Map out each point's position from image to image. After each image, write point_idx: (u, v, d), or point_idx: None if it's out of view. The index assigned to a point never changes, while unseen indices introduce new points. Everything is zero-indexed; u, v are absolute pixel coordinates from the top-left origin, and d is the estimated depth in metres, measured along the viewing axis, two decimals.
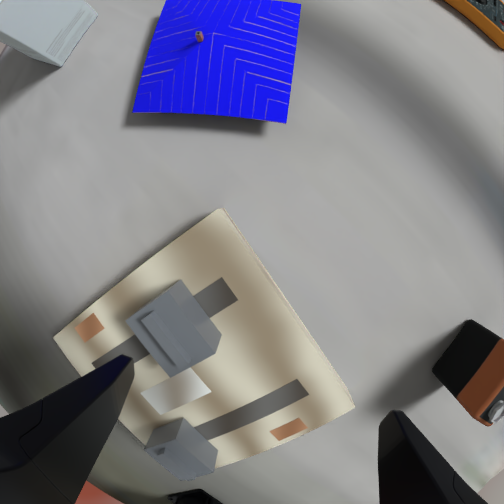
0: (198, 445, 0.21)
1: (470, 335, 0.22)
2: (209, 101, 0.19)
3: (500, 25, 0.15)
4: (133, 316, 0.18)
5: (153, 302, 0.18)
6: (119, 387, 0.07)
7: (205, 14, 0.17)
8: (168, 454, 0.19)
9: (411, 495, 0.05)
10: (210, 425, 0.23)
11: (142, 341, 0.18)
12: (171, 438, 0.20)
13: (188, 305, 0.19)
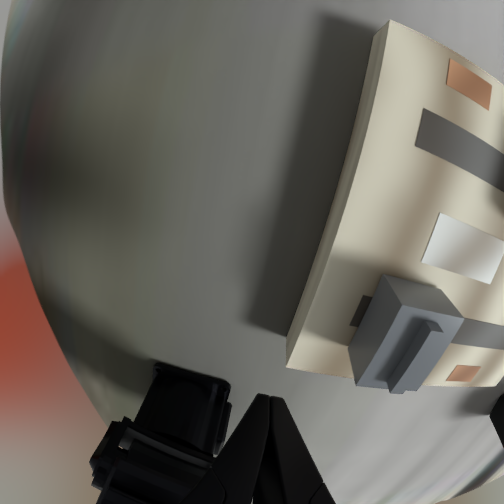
0: None
1: None
2: None
3: None
4: None
5: None
6: None
7: None
8: None
9: (268, 498, 0.05)
10: None
11: None
12: (454, 313, 0.11)
13: None
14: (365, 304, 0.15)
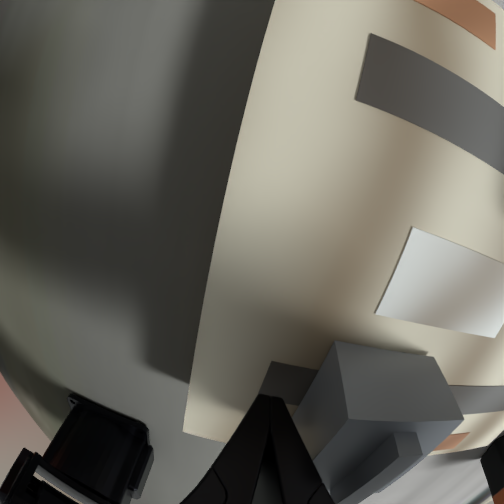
0: None
1: None
2: None
3: None
4: None
5: None
6: None
7: None
8: None
9: (267, 498, 0.05)
10: None
11: None
12: (448, 413, 0.06)
13: None
14: (277, 374, 0.09)
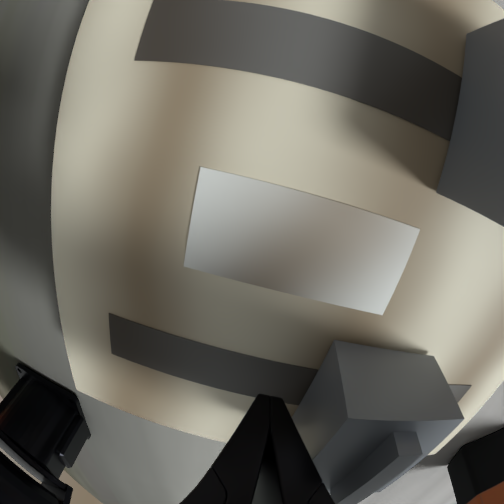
0: None
1: None
2: None
3: None
4: None
5: None
6: None
7: None
8: None
9: (267, 498, 0.05)
10: (274, 372, 0.09)
11: None
12: (448, 412, 0.06)
13: None
14: (118, 328, 0.09)
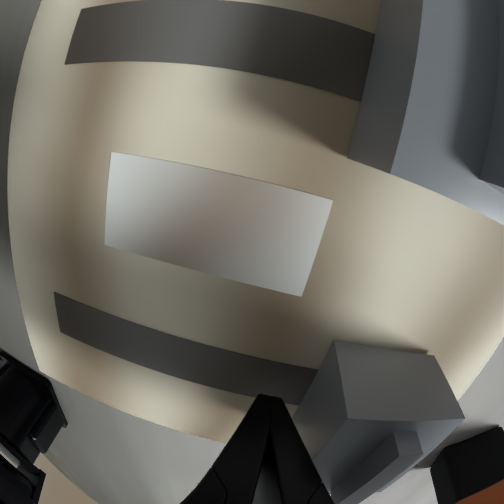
0: None
1: (498, 444, 0.13)
2: None
3: None
4: None
5: None
6: None
7: None
8: None
9: (267, 498, 0.05)
10: (198, 353, 0.09)
11: None
12: (449, 411, 0.06)
13: None
14: (62, 306, 0.09)
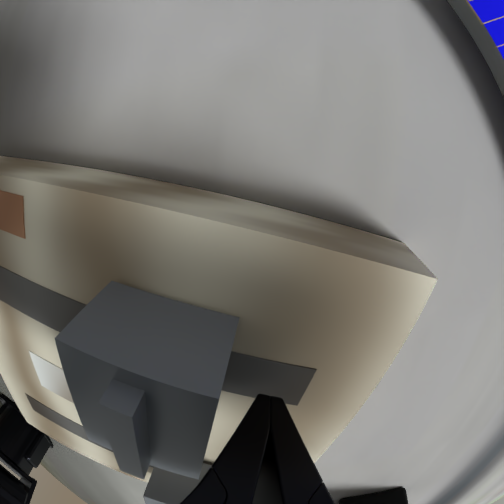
0: None
1: None
2: None
3: None
4: (80, 352, 0.05)
5: (157, 383, 0.05)
6: None
7: None
8: None
9: (267, 498, 0.05)
10: None
11: (71, 388, 0.06)
12: None
13: None
14: (31, 400, 0.13)
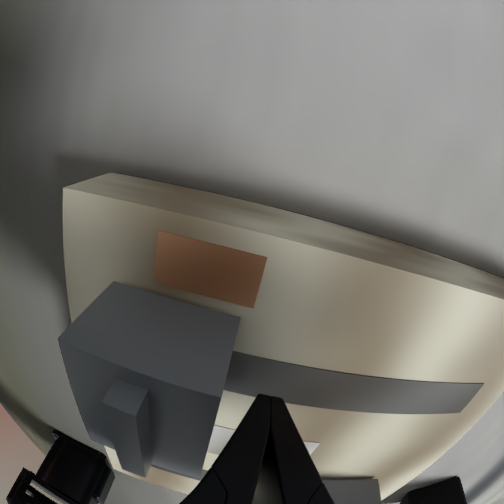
0: None
1: (453, 491, 0.17)
2: None
3: None
4: (84, 352, 0.06)
5: (159, 382, 0.06)
6: None
7: None
8: None
9: (267, 498, 0.05)
10: None
11: (74, 388, 0.06)
12: None
13: None
14: None
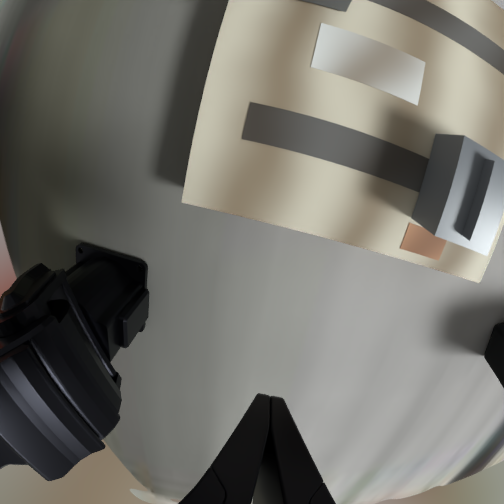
0: None
1: None
2: None
3: None
4: None
5: None
6: None
7: None
8: None
9: (268, 498, 0.05)
10: (362, 141, 0.14)
11: None
12: None
13: None
14: (255, 113, 0.14)
